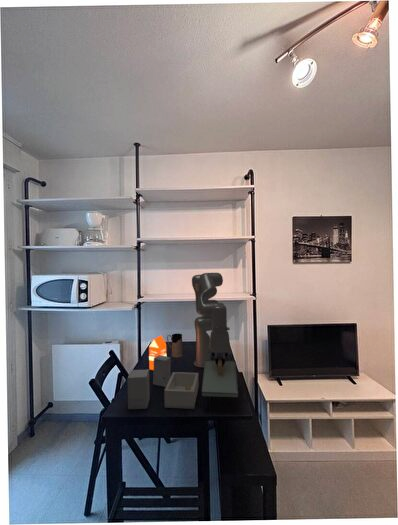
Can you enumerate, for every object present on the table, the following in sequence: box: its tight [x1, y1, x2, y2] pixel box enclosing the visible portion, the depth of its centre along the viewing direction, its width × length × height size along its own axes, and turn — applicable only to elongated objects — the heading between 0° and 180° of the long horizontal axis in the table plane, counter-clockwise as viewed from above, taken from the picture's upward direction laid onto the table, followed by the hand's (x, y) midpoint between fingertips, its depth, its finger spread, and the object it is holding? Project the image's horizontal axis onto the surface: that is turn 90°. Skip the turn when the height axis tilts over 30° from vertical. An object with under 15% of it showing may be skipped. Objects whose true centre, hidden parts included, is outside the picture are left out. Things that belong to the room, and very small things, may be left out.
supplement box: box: [127, 369, 151, 410], centre depth 122 cm, size 9×9×15 cm
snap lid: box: [201, 358, 239, 398], centre depth 124 cm, size 22×16×7 cm
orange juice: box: [148, 335, 168, 371], centre depth 164 cm, size 8×9×20 cm
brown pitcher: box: [166, 333, 184, 358], centre depth 187 cm, size 9×14×15 cm, turn 53°
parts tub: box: [164, 371, 200, 410], centre depth 128 cm, size 20×14×8 cm
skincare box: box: [152, 355, 172, 388], centre depth 142 cm, size 8×6×15 cm
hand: (220, 365), depth 129 cm, fingers closed on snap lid
